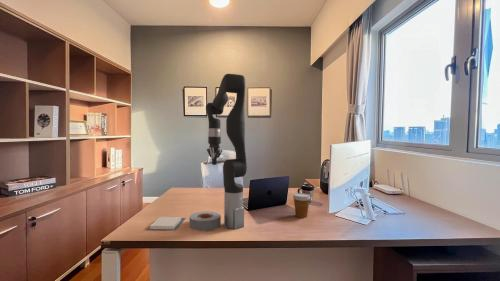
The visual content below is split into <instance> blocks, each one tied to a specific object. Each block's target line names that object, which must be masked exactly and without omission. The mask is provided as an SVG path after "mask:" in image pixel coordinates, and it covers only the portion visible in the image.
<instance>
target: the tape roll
mask: <svg viewBox="0 0 500 281" xmlns="http://www.w3.org/2000/svg"><path fill="white" fill-rule="evenodd" d="M221 218H222V216H221V214H220V213H218V212H216V211H200V212H199V211H198V212H194V213H191V214H190V215H189V226H188V227H189V228H190V229H192V230H196V231H205V232H209V231H214V230H217V229H219V228H221V225H222V222H221V221H222V220H221Z"/></svg>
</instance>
